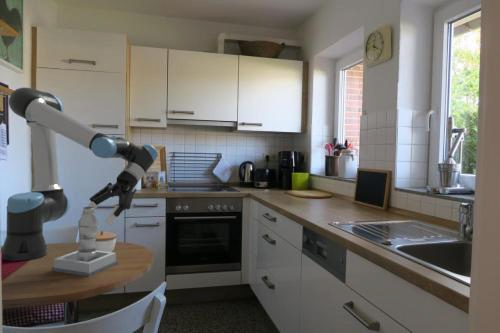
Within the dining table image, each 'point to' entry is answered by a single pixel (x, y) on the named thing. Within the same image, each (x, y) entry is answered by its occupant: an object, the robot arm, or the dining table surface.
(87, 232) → the plastic bottle
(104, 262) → the light grey square tray
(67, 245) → the dining table surface
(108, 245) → the lidded jar
